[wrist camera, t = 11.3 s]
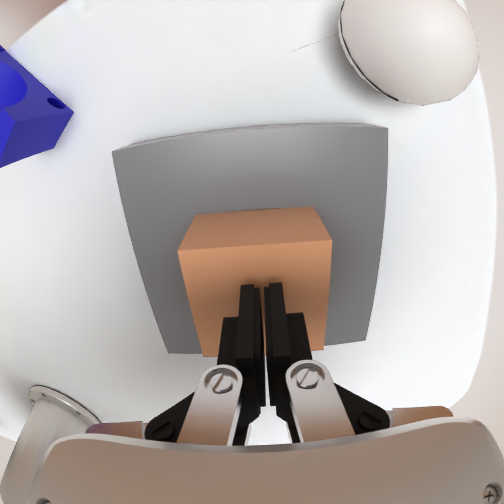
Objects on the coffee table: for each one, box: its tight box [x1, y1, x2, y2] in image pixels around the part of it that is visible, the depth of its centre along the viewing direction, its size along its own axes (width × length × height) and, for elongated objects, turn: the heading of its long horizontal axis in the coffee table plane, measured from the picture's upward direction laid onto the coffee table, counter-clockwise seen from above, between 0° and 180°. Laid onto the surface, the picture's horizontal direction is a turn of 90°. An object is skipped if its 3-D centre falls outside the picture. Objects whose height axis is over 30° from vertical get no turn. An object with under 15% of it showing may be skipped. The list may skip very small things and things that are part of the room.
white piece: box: [290, 0, 479, 106], centre depth 10 cm, size 10×7×7 cm
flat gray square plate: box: [112, 123, 388, 354], centre depth 17 cm, size 14×14×3 cm
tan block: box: [177, 206, 332, 357], centre depth 16 cm, size 6×6×7 cm
